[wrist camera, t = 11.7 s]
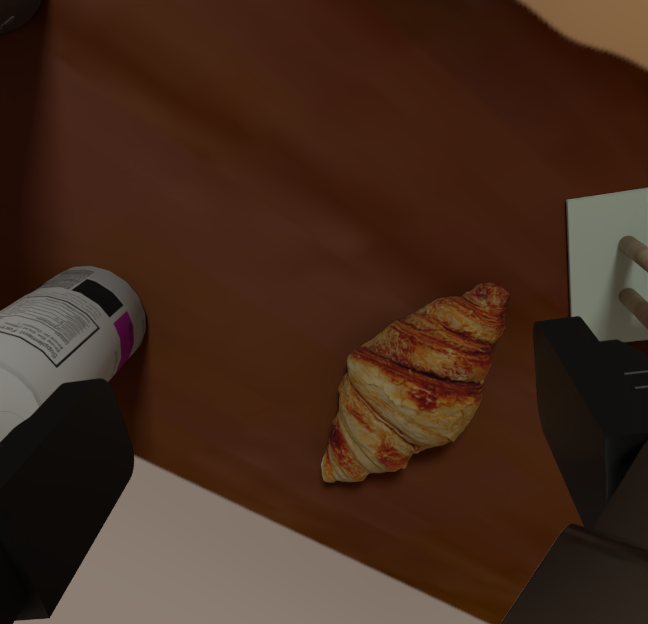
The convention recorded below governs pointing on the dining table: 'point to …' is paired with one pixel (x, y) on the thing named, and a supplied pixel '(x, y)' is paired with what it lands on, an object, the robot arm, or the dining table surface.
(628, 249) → the stool
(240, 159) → the dining table surface
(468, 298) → the croissant
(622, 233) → the mat
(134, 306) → the supplement can
